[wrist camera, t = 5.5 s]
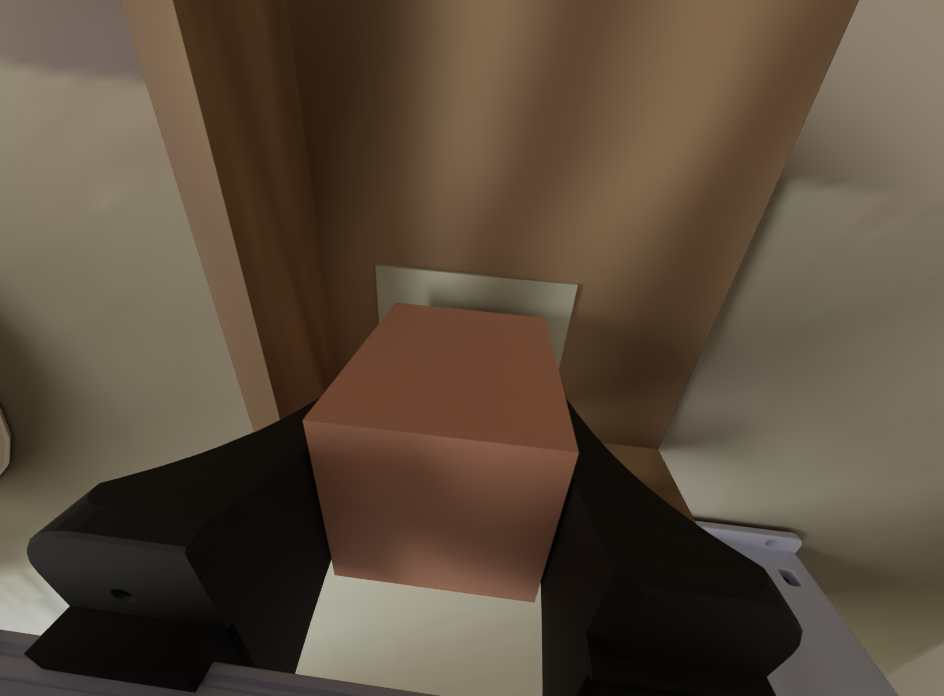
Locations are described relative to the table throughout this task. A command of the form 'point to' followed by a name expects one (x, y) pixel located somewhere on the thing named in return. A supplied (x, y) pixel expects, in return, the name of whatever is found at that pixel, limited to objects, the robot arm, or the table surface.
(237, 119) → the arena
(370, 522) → the cube
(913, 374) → the table surface
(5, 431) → the kettle
